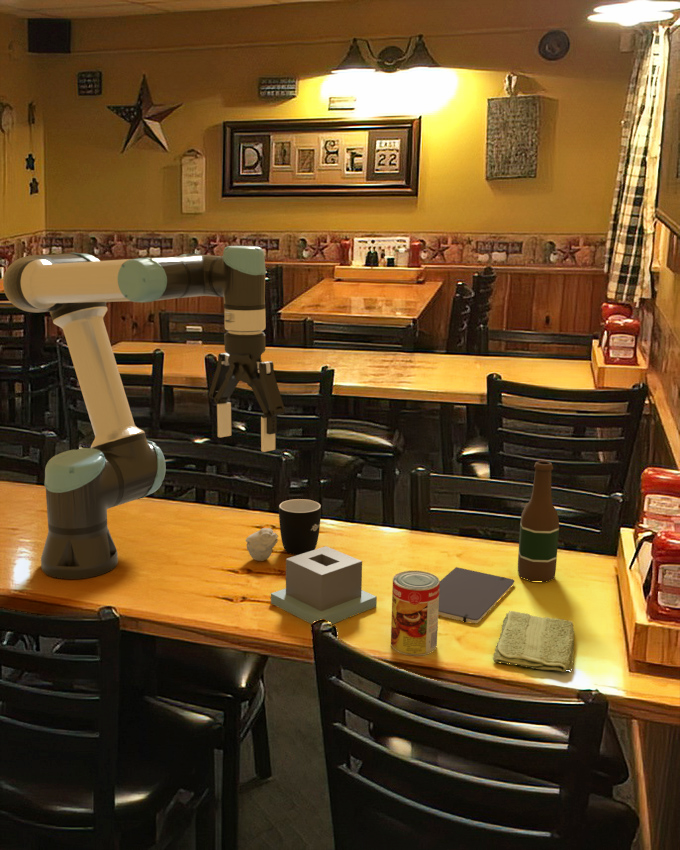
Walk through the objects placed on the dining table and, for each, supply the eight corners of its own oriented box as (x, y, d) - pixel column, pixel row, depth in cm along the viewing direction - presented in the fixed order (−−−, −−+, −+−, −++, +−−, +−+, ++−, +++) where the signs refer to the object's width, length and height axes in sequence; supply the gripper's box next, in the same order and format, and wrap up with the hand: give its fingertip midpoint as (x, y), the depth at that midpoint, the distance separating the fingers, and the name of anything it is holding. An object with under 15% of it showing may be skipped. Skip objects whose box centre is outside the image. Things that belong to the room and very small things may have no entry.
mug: (314, 559, 196) (314, 514, 193) (273, 555, 198) (273, 510, 195) (328, 540, 207) (328, 496, 205) (289, 536, 209) (289, 493, 207)
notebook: (455, 573, 191) (412, 612, 173) (456, 566, 190) (412, 604, 172) (515, 587, 185) (476, 628, 167) (515, 579, 185) (477, 620, 166)
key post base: (270, 603, 174) (270, 568, 173) (326, 583, 184) (326, 550, 182) (320, 628, 164) (321, 591, 163) (376, 606, 174) (377, 571, 172)
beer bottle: (559, 572, 191) (567, 460, 185) (550, 586, 184) (559, 470, 178) (521, 566, 194) (529, 455, 188) (512, 579, 187) (519, 464, 182)
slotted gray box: (285, 593, 174) (285, 558, 172) (325, 579, 180) (325, 546, 179) (321, 611, 167) (321, 575, 165) (361, 596, 173) (362, 561, 172)
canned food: (396, 631, 164) (398, 568, 161) (440, 638, 162) (443, 573, 159) (385, 651, 156) (387, 585, 154) (431, 658, 154) (434, 591, 151)
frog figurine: (274, 566, 191) (274, 535, 190) (241, 564, 193) (241, 532, 191) (281, 556, 197) (281, 525, 196) (249, 553, 198) (249, 522, 197)
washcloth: (490, 668, 153) (491, 650, 152) (503, 622, 169) (504, 606, 168) (572, 680, 149) (573, 662, 148) (577, 632, 165) (579, 616, 165)
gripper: (189, 325, 177) (191, 433, 182) (271, 341, 159) (271, 460, 164) (221, 322, 182) (223, 427, 187) (304, 337, 164) (303, 453, 169)
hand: (245, 443), depth 176 cm, fingers open, 13 cm apart
